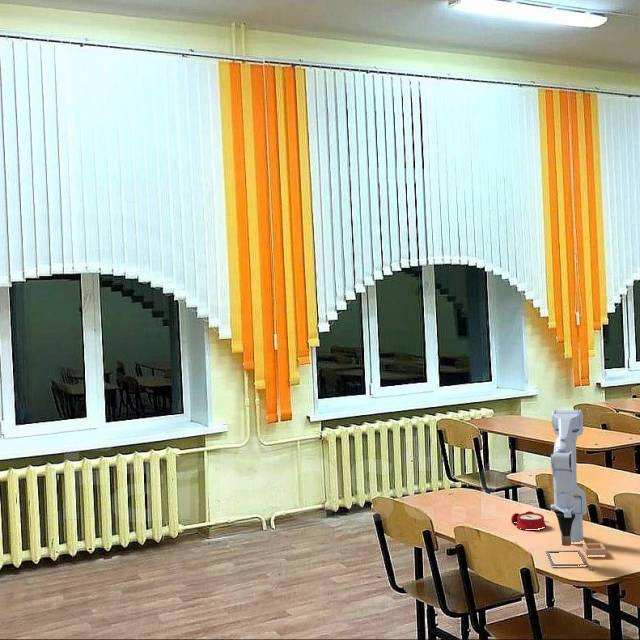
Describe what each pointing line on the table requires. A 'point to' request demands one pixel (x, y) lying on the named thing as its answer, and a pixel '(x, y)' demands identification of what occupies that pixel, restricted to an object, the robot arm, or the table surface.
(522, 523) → the alarm clock
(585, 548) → the wooden block with hole
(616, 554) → the table surface
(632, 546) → the table surface
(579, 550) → the grey rectangular frame
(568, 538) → the dowel
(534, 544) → the table surface
